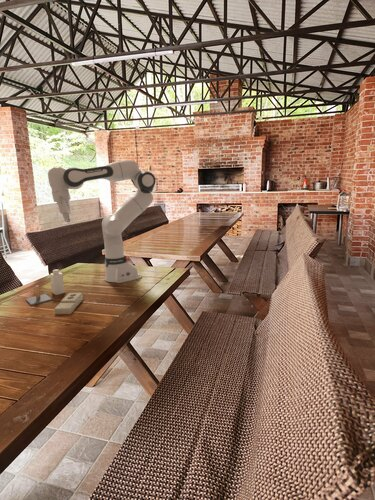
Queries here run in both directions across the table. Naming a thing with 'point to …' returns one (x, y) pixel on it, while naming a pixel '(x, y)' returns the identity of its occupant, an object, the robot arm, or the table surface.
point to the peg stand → (38, 297)
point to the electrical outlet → (69, 303)
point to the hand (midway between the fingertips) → (67, 221)
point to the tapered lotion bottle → (57, 282)
